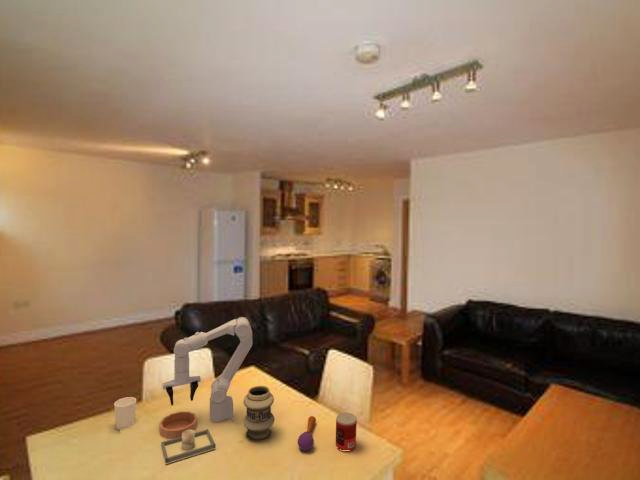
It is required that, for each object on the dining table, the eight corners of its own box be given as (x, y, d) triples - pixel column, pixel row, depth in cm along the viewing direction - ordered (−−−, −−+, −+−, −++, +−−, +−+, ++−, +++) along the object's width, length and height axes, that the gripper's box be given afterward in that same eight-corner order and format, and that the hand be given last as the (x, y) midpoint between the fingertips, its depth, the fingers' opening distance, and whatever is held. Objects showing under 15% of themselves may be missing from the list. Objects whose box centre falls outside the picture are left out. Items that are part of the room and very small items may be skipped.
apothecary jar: (237, 434, 142) (237, 390, 141) (261, 422, 151) (261, 380, 150) (255, 447, 134) (256, 401, 133) (280, 434, 143) (280, 390, 142)
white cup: (127, 432, 142) (126, 407, 141) (109, 429, 143) (109, 405, 143) (140, 421, 149) (140, 398, 149) (124, 419, 151) (124, 395, 150)
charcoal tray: (207, 434, 141) (207, 429, 141) (215, 450, 132) (215, 444, 132) (161, 447, 133) (161, 442, 133) (165, 465, 123) (165, 459, 123)
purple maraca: (320, 415, 150) (314, 440, 131) (317, 428, 150) (310, 456, 131) (306, 411, 151) (298, 435, 131) (303, 424, 151) (294, 451, 131)
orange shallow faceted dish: (192, 417, 153) (192, 408, 153) (200, 434, 141) (200, 424, 141) (157, 426, 146) (157, 417, 146) (162, 444, 134) (162, 434, 134)
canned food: (357, 442, 139) (358, 414, 138) (352, 454, 131) (353, 425, 131) (338, 437, 141) (339, 410, 141) (332, 449, 134) (333, 421, 133)
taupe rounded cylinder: (191, 442, 135) (191, 428, 135) (196, 447, 132) (196, 433, 132) (179, 447, 132) (179, 432, 132) (185, 452, 129) (185, 438, 129)
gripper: (197, 362, 154) (197, 393, 155) (161, 369, 147) (161, 401, 147) (201, 368, 148) (201, 400, 149) (163, 376, 141) (164, 409, 141)
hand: (181, 401), depth 148 cm, fingers open, 7 cm apart
